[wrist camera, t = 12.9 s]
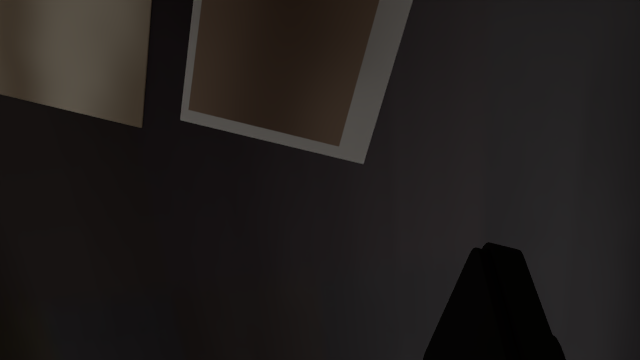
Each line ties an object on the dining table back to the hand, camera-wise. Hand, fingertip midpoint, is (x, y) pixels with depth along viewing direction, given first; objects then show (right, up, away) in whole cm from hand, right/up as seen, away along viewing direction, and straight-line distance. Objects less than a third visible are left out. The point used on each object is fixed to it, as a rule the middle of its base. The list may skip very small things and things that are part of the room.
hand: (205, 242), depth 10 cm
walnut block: (+1, +9, +16) cm, 19 cm away
